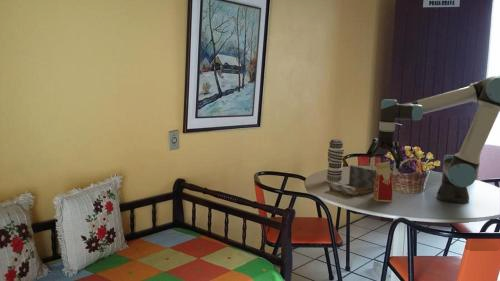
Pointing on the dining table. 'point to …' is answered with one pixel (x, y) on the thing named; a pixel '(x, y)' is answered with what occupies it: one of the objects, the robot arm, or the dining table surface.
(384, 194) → the milk carton
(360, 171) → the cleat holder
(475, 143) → the robot arm
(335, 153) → the decorative candle
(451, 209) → the dining table surface
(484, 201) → the dining table surface
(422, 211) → the dining table surface
